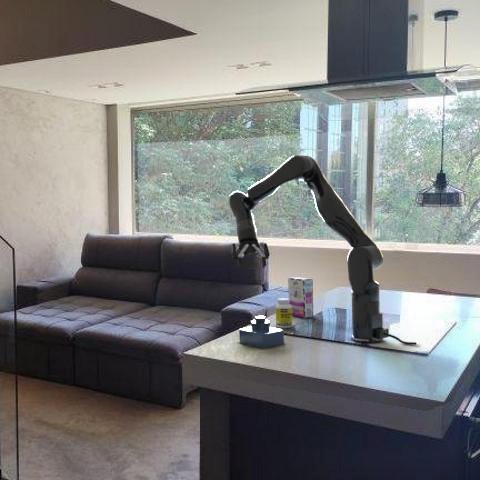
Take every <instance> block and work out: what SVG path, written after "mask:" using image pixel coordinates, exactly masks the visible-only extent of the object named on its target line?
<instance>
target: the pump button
mask: <svg viewBox="0 0 480 480" xmlns="http://www.w3.org/2000/svg"><path fill="white" fill-rule="evenodd" d="M254 320H255V322H256V323H264V322H265V320H266V316H264V315H258V316H255V317H254Z"/></svg>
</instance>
